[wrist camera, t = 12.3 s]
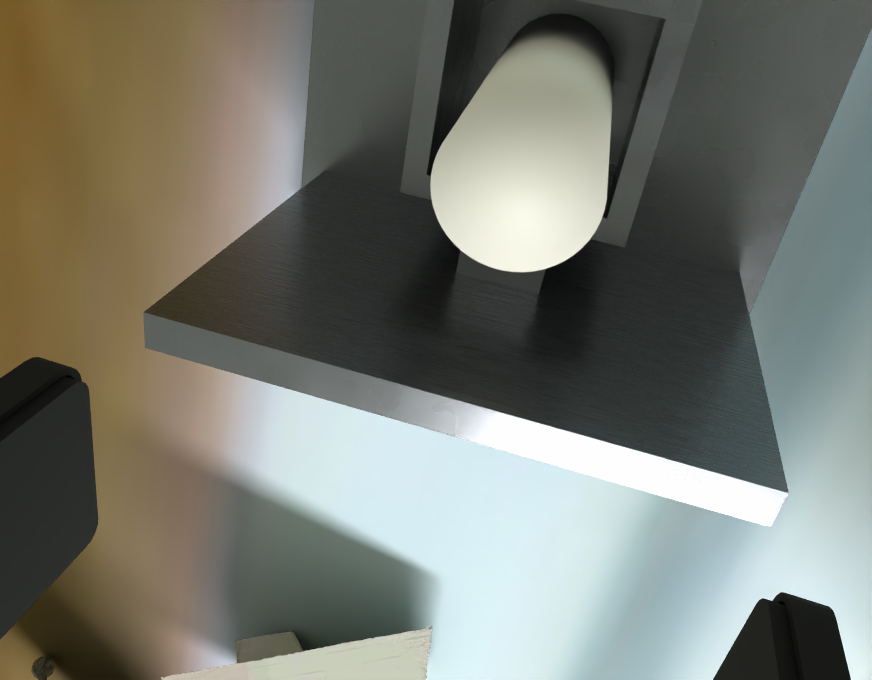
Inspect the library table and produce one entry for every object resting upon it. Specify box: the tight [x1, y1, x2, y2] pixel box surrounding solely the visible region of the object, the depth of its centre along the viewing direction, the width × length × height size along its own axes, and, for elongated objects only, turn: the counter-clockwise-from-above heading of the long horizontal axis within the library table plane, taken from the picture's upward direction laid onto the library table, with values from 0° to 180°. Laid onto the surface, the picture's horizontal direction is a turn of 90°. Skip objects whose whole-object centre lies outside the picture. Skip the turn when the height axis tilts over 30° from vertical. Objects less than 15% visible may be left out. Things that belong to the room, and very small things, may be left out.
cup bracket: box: [144, 0, 872, 527], centre depth 25 cm, size 15×20×15 cm
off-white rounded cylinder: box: [430, 14, 614, 272], centre depth 22 cm, size 4×4×12 cm
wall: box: [161, 627, 433, 680], centre depth 49 cm, size 16×9×15 cm
